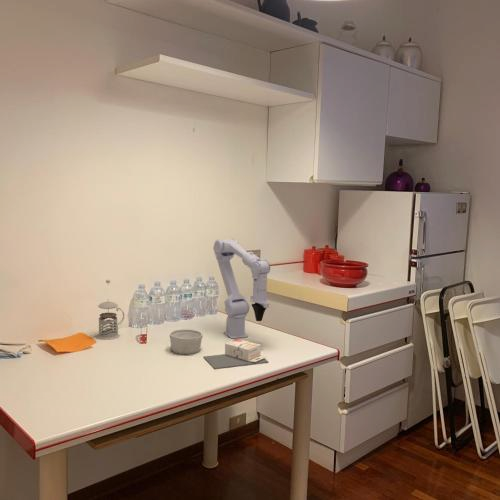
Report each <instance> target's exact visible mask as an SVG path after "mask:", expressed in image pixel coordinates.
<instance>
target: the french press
mask: <svg viewBox="0 0 500 500" xmlns="http://www.w3.org/2000/svg"><path fill="white" fill-rule="evenodd" d="M105 283H106V284H111V280H110V279H106V280H105ZM98 308H99V309H103V310H111V309H116V312H119V311H121V312H122V315H125V313H124V311H123V310H122V309H121V308H120V307H119V306H118V303H116V302H114V301H109V300H107V301H105V302H101V303H100V304H98ZM117 315H118V314H117V313H115V312H102V313H100V314H99V317H98V334H97V335H96V336H95V337H96V339H98V340H101V341H113V340H116V339H119V338H120V334H119V325H121V324H122V323H123V322H124V320H125V316H122V318H121V320H120V321H119V322H118V316H117Z"/></svg>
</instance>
